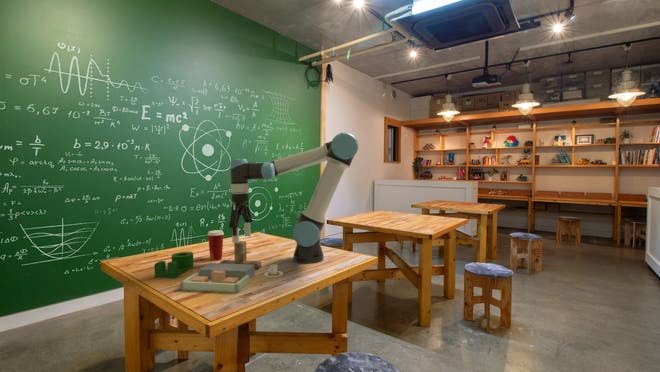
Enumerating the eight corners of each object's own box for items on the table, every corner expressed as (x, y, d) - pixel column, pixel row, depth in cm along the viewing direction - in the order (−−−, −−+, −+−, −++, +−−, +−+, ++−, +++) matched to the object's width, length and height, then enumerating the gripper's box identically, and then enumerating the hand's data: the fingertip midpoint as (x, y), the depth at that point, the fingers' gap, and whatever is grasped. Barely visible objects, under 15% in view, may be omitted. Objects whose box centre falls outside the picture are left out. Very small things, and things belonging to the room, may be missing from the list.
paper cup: (226, 257, 165) (226, 230, 164) (220, 261, 157) (219, 233, 157) (212, 256, 166) (211, 229, 165) (204, 261, 158) (204, 232, 157)
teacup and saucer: (269, 270, 144) (268, 262, 144) (286, 272, 143) (286, 262, 142) (261, 277, 135) (261, 267, 135) (279, 278, 134) (279, 269, 134)
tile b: (225, 270, 127) (222, 272, 125) (225, 281, 127) (222, 284, 125) (214, 270, 128) (211, 272, 125) (214, 281, 128) (211, 283, 125)
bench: (254, 275, 137) (254, 264, 137) (246, 282, 128) (246, 271, 128) (210, 273, 140) (210, 262, 140) (199, 280, 131) (198, 269, 131)
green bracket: (179, 265, 152) (178, 251, 152) (197, 265, 151) (196, 252, 151) (154, 277, 134) (154, 262, 134) (175, 278, 133) (174, 263, 133)
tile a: (233, 281, 120) (233, 288, 121) (238, 277, 125) (238, 284, 125) (222, 281, 121) (222, 287, 121) (227, 277, 125) (227, 283, 126)
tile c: (202, 280, 122) (202, 286, 122) (208, 276, 126) (208, 282, 126) (191, 279, 122) (191, 286, 122) (197, 276, 127) (197, 282, 127)
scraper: (261, 267, 148) (260, 241, 148) (258, 270, 144) (257, 243, 144) (223, 266, 150) (223, 240, 150) (220, 268, 146) (219, 242, 146)
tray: (249, 282, 128) (249, 275, 128) (237, 293, 117) (237, 284, 117) (196, 280, 131) (196, 272, 131) (180, 290, 120) (180, 282, 120)
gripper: (242, 191, 159) (244, 233, 160) (219, 195, 134) (221, 245, 135) (257, 190, 158) (259, 233, 159) (236, 195, 133) (238, 245, 134)
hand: (242, 239), depth 147 cm, fingers open, 13 cm apart
